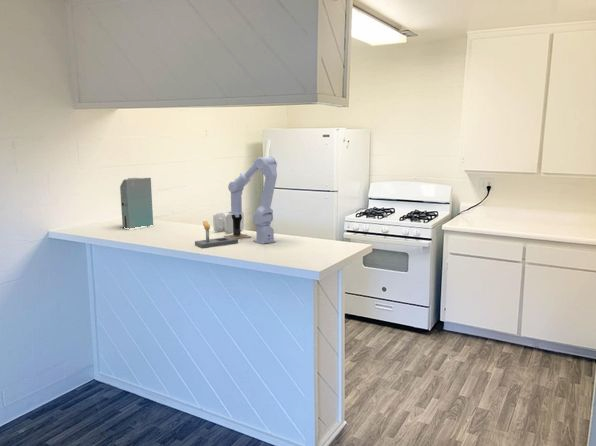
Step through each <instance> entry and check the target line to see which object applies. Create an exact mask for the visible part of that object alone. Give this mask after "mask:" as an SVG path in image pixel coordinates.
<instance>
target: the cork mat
mask: <svg viewBox="0 0 596 446" xmlns="http://www.w3.org/2000/svg"><path fill="white" fill-rule="evenodd" d="M224 237H233V238H235V239H238V240H243V239H251V238H252V237H251V236H250V235H248V234H244V233H241V235H233V234H225V235H223V238H224Z"/></svg>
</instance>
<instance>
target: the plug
mask: <svg viewBox="0 0 596 446" xmlns="http://www.w3.org/2000/svg"><path fill="white" fill-rule="evenodd" d="M241 234H242V230H240V228H239V229H235V226H234V221H233V233H232V235H241Z"/></svg>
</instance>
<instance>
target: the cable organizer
mask: <svg viewBox="0 0 596 446" xmlns="http://www.w3.org/2000/svg"><path fill="white" fill-rule="evenodd" d="M229 212H231V209H229V210H223V211H218V212H214V213H213V215H212V218H213V221H212V222H213V231H214V232H218V233H221V232H225V233H226V234H233V219H232V216H231V215H234V214H231V213H229ZM241 215H242V216H241V217H242V219H241V222H240V230H241V231H243V229H244V227H245V224H244V223H245V219H244V217H245V215H244V212H243V211H242V214H241Z"/></svg>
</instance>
